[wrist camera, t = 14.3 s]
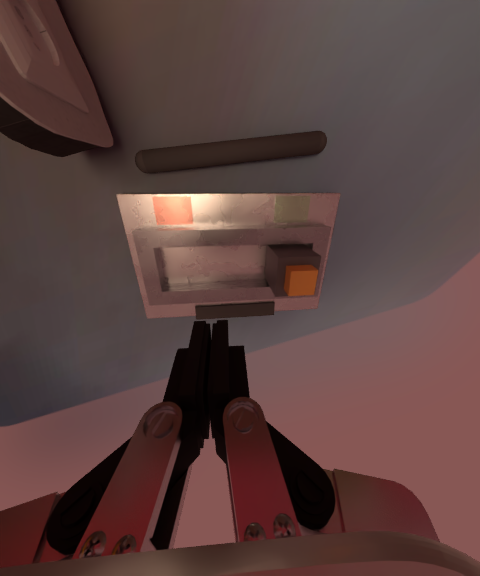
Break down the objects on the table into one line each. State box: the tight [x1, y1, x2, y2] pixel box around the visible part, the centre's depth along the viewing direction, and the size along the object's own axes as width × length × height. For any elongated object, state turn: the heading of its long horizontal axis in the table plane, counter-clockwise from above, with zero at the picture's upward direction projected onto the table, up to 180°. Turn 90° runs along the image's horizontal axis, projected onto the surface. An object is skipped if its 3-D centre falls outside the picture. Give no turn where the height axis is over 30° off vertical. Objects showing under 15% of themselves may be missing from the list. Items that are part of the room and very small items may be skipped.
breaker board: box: [117, 193, 340, 318], centre depth 23 cm, size 22×14×4 cm, turn 90°
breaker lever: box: [265, 244, 321, 297], centre depth 21 cm, size 4×4×6 cm
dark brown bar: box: [195, 302, 275, 320], centre depth 27 cm, size 10×2×2 cm, turn 90°
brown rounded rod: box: [135, 131, 327, 173], centre depth 19 cm, size 18×2×2 cm, turn 96°
